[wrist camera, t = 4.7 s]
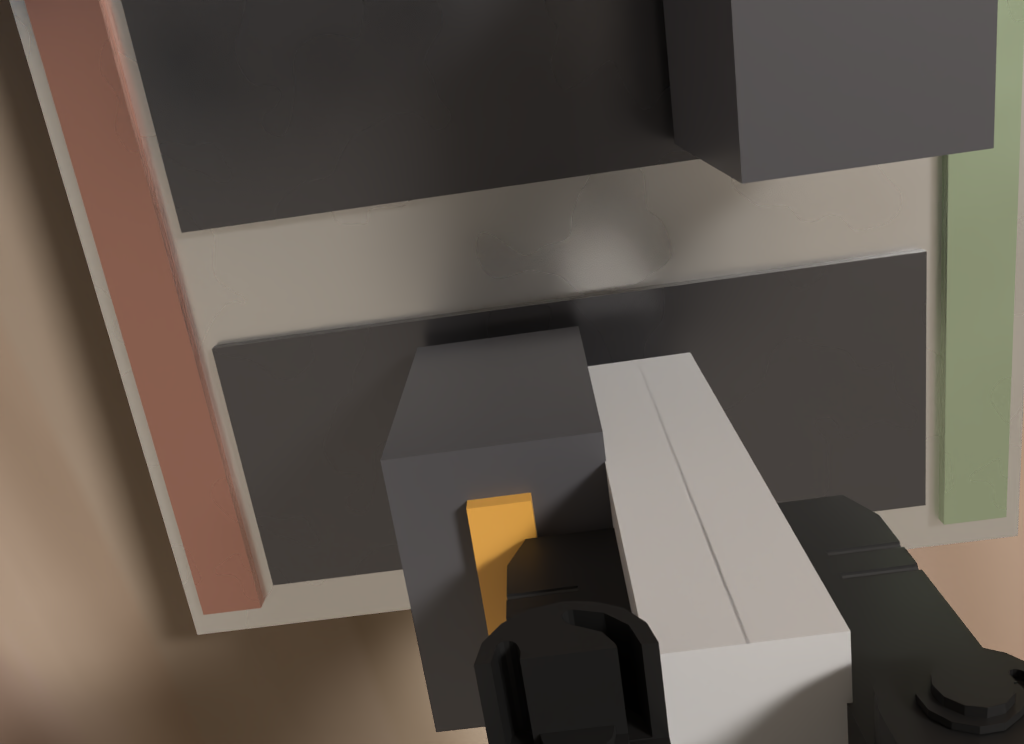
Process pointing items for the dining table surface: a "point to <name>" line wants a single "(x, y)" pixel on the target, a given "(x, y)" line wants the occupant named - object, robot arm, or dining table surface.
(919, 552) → the dining table surface
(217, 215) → the panel
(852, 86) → the block
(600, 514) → the breaker
